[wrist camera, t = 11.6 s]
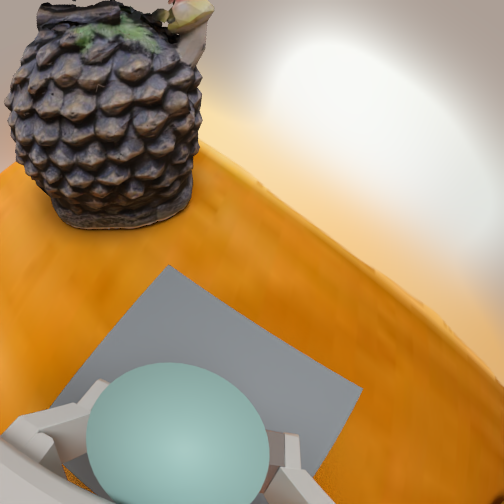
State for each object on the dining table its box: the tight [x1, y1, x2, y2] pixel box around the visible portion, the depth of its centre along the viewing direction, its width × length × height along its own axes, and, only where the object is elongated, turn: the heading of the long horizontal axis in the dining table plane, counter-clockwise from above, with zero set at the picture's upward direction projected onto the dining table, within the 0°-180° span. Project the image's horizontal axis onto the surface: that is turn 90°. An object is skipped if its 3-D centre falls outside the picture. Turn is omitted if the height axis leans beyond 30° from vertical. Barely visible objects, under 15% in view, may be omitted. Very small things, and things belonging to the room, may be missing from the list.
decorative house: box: [4, 0, 214, 229], centre depth 24 cm, size 21×15×25 cm
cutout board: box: [49, 265, 363, 504], centre depth 21 cm, size 20×20×4 cm
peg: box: [86, 362, 269, 504], centre depth 9 cm, size 4×4×9 cm
